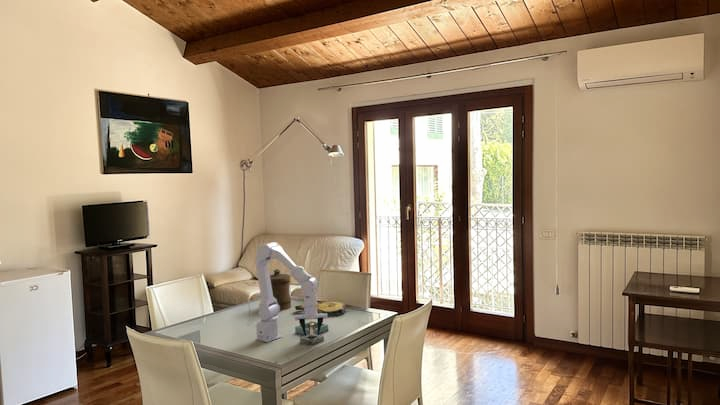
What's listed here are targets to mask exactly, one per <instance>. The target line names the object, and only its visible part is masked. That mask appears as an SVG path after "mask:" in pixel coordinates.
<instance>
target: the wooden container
mask: <svg viewBox="0 0 720 405" xmlns="http://www.w3.org/2000/svg"><path fill="white" fill-rule="evenodd" d="M270 280H271V286H272V292H273V297H274V298H276V299H277V303H278V305H279V307H280V311H285V309H286V310H288V309H291V307H292V293H291V292H292V291H291V274H287V273H281V270H279V269H276V268H275V270H273V273H272V274H270Z"/></svg>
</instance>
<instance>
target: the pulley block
mask: <svg viewBox="0 0 720 405" xmlns="http://www.w3.org/2000/svg"><path fill="white" fill-rule="evenodd" d="M348 306H350V307H351V304H346V303H345V302H344V303H343V302H339V301H328V302H326V301H325V302H317V313H327V317H335V316H336V315H337V316H340V315H343V314H345V313H344V312H347V307H348ZM294 308H295V311H304V304H300V305H296V306H294Z"/></svg>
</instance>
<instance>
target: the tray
mask: <svg viewBox="0 0 720 405" xmlns="http://www.w3.org/2000/svg"><path fill="white" fill-rule="evenodd" d="M309 323H314V329H315V334H316V335H318V321H312V320H311V321H308V322H305V329H306V335H309V325H308V324H309ZM294 330H295V334H298V335H303V336H304V332H303V329H302V327H301V325H300V324H299V325H296V326H295V327H294ZM326 332H329V324H328V323H322V325H321V328H320V332H319V335H321V334H323V333H326Z"/></svg>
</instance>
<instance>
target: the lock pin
mask: <svg viewBox="0 0 720 405" xmlns="http://www.w3.org/2000/svg"><path fill="white" fill-rule="evenodd" d="M308 325H309V338H310V339H313V338H315V329H314V323H309V324H308Z"/></svg>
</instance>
